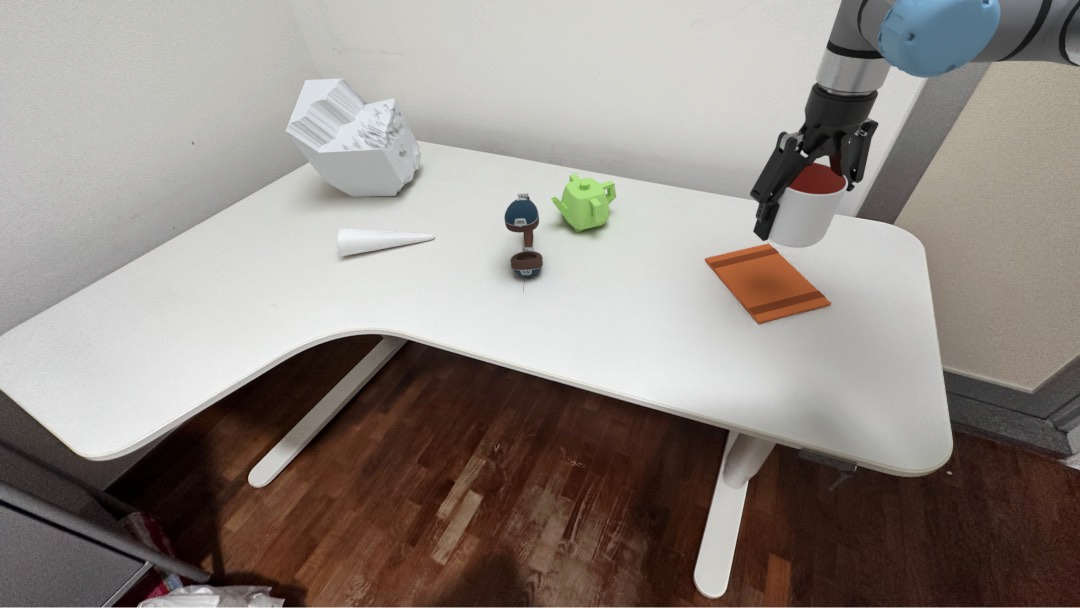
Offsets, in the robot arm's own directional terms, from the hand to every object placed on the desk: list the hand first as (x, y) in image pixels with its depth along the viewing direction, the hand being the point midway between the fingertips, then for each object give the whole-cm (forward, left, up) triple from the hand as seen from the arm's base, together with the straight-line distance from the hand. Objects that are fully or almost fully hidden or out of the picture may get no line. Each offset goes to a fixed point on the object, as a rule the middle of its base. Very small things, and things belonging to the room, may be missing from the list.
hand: (789, 228), depth 74 cm
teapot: (+32, +24, -14) cm, 42 cm away
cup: (0, 0, -1) cm, 1 cm away
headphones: (+20, +40, -14) cm, 47 cm away
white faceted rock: (+64, +69, -14) cm, 95 cm away
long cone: (+37, +67, -14) cm, 78 cm away
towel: (+2, -1, -14) cm, 14 cm away
